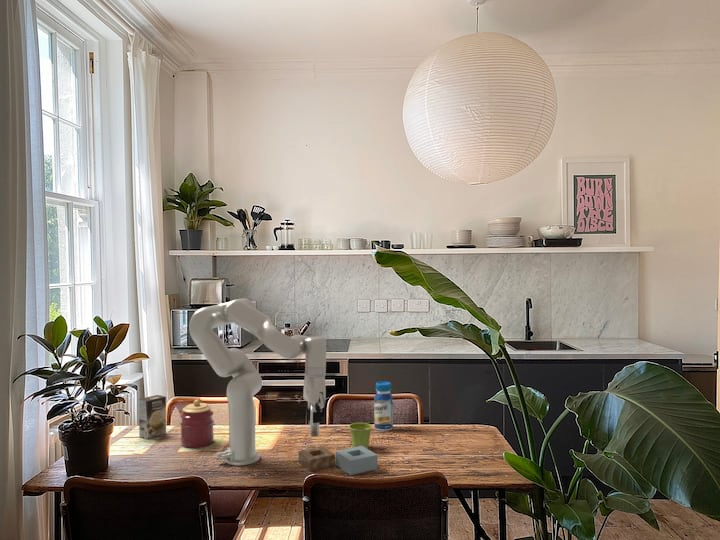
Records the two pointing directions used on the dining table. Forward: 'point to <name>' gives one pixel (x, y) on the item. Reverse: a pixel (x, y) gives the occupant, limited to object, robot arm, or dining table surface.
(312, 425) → the pin
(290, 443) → the dining table surface
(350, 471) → the dock block
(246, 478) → the dining table surface
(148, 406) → the coffee box
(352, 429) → the plant pot
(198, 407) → the canister
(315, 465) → the mount block
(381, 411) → the beverage bottle
